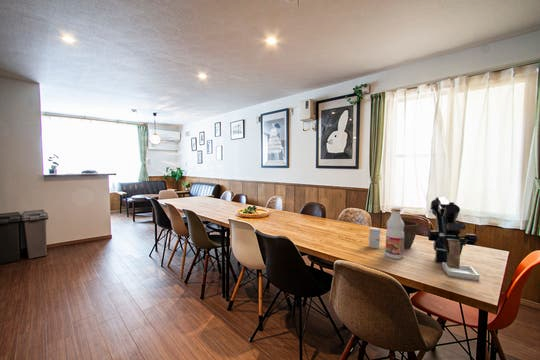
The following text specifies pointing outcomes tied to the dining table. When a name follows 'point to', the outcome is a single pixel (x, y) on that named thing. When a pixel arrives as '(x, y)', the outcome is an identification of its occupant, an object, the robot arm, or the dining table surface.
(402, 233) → the fruit juice
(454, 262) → the walnut block
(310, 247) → the dining table surface
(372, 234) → the skincare box
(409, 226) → the plant pot
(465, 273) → the tray
